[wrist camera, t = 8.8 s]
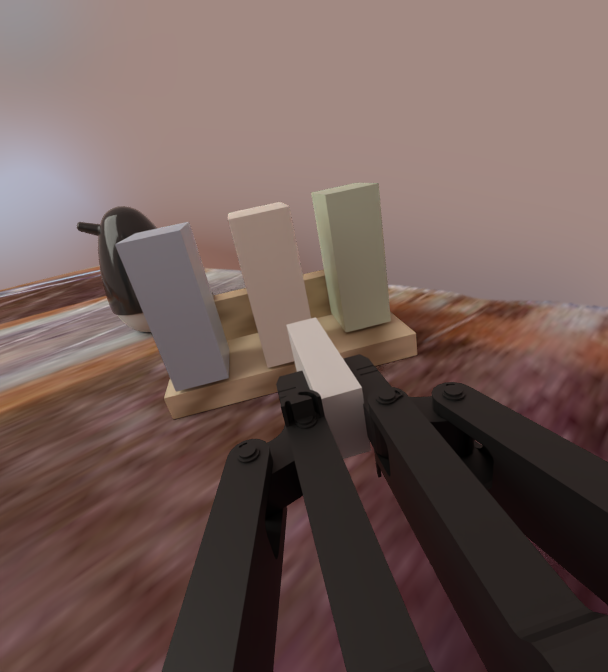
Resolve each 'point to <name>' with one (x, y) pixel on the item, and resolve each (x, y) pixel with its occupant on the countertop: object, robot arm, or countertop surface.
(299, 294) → the cream rectangular block
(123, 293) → the pump dispenser
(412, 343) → the wooden key holder base
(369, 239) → the pale green tall block
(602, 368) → the countertop surface
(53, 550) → the countertop surface
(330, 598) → the robot arm
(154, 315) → the slate key
